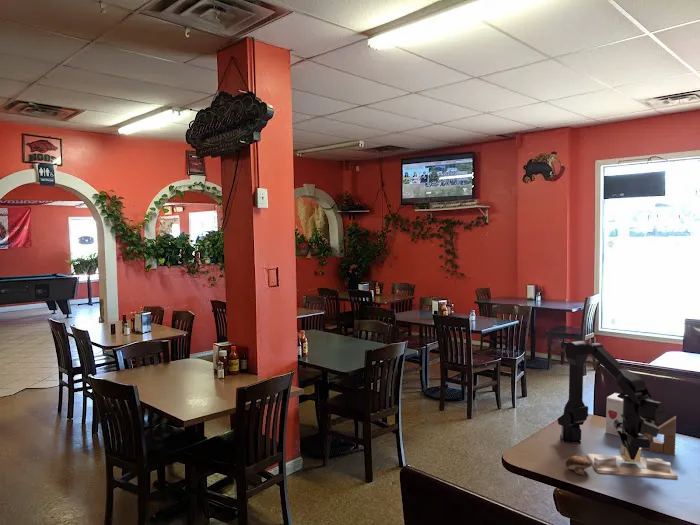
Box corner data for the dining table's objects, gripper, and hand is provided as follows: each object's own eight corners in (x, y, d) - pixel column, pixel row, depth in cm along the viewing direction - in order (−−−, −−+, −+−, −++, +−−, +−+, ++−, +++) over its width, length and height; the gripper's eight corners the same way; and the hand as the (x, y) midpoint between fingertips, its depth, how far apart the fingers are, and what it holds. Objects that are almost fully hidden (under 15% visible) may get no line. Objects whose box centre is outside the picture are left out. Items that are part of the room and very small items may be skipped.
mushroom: (589, 472, 170) (584, 452, 174) (564, 475, 174) (560, 456, 178) (596, 475, 175) (591, 456, 179) (572, 478, 179) (568, 460, 183)
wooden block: (674, 456, 189) (676, 408, 188) (641, 449, 195) (642, 402, 194) (674, 452, 192) (676, 405, 191) (642, 445, 198) (643, 400, 197)
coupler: (638, 457, 182) (638, 444, 182) (642, 462, 178) (643, 448, 178) (618, 456, 183) (618, 442, 183) (622, 461, 179) (622, 447, 179)
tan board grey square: (597, 472, 176) (597, 463, 176) (587, 456, 189) (587, 447, 189) (677, 478, 172) (677, 469, 172) (661, 461, 185) (661, 452, 185)
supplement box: (604, 432, 211) (605, 396, 210) (613, 426, 217) (614, 392, 216) (628, 439, 204) (629, 402, 203) (636, 433, 211) (637, 397, 210)
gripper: (668, 424, 169) (666, 471, 170) (646, 405, 187) (645, 447, 188) (632, 422, 171) (630, 468, 172) (613, 403, 189) (612, 445, 190)
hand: (630, 456), depth 180 cm, fingers closed on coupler, 4 cm apart
